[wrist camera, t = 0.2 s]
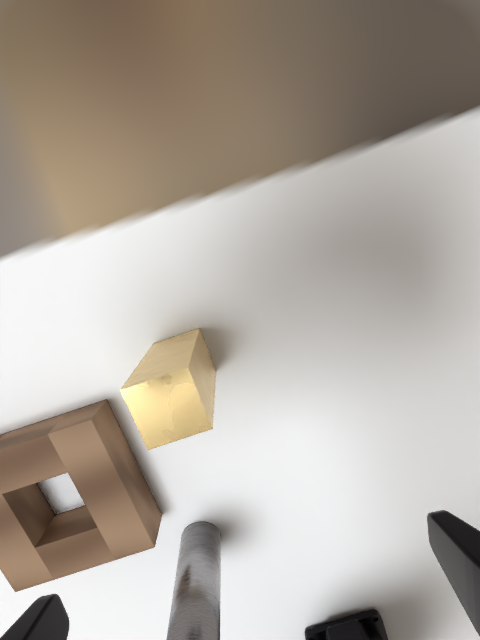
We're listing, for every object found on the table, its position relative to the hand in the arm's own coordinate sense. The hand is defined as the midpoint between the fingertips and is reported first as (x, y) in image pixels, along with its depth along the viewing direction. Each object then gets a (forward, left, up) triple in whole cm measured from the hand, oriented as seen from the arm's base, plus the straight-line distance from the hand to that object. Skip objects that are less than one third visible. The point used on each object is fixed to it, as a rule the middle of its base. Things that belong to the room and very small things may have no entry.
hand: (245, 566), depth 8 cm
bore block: (-5, +14, -14) cm, 20 cm away
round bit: (-13, +7, -14) cm, 20 cm away
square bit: (+1, +3, -14) cm, 15 cm away
